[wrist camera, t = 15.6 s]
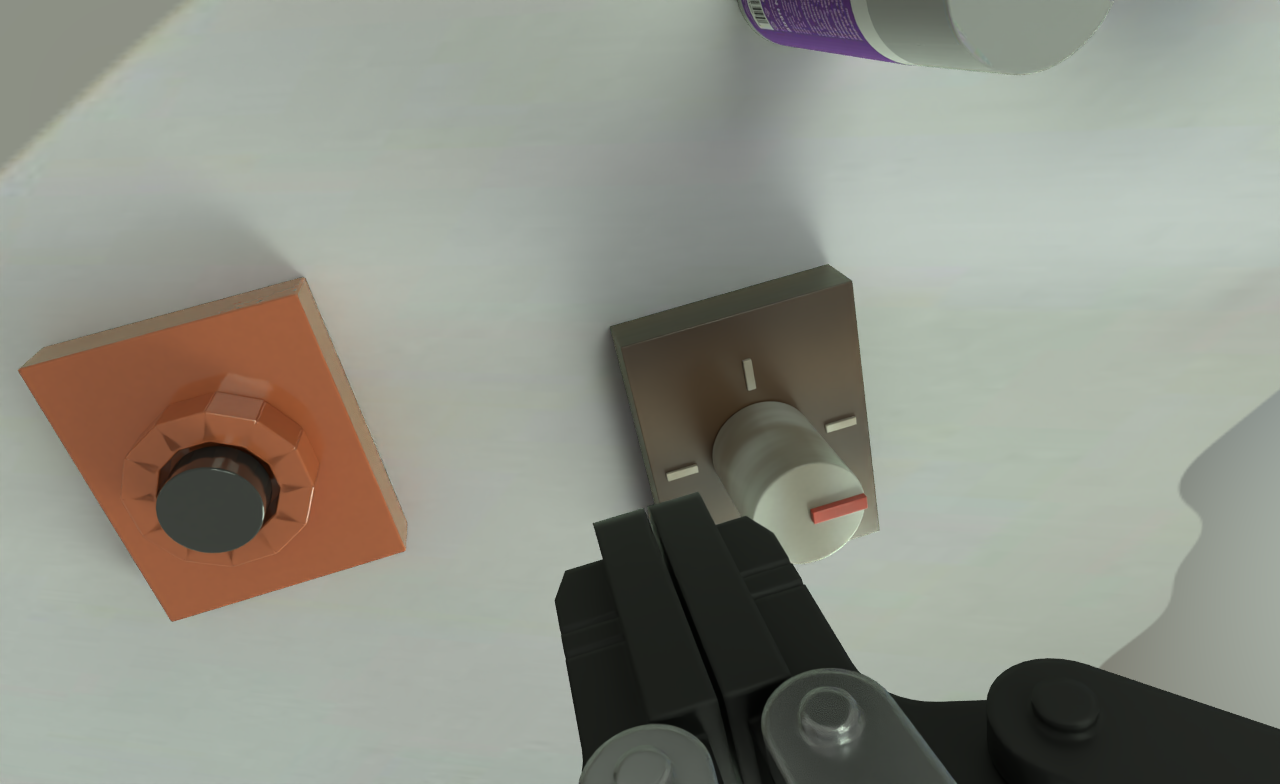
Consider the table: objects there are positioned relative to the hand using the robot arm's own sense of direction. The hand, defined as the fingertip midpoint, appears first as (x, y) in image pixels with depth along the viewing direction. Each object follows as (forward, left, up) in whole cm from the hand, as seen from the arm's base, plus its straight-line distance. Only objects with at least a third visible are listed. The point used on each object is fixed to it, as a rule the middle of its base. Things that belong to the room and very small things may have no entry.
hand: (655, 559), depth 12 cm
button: (+7, -14, -21) cm, 26 cm away
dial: (+13, +7, -22) cm, 27 cm away
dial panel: (+13, +7, -25) cm, 29 cm away
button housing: (+7, -14, -25) cm, 29 cm away
